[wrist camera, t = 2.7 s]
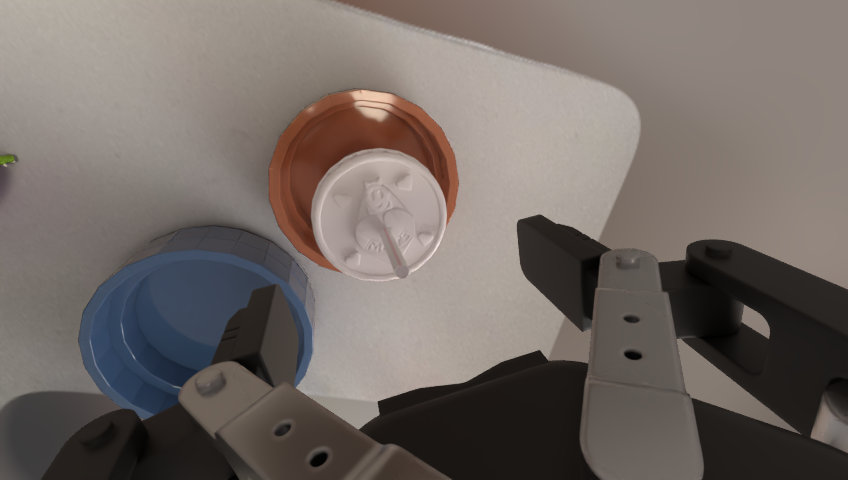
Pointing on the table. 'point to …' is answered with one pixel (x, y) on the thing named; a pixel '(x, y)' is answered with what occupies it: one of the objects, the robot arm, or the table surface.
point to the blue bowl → (182, 312)
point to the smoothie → (378, 214)
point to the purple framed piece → (6, 160)
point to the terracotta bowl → (340, 135)
